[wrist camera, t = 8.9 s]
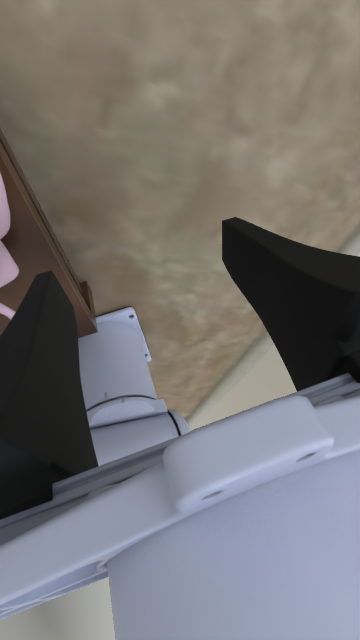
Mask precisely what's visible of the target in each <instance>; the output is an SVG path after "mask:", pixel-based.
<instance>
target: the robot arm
mask: <svg viewBox="0 0 360 640" xmlns="http://www.w3.org/2000/svg"><path fill="white" fill-rule="evenodd" d="M222 260H223V262H224V264H225V266H226V268H227V270H228V272H229V274H230V276H231V278H232V279H233V281H234V282H235V283H236V285H237V286H238V288H239V289H240V290H241V292H242V293H243V295H244V296H245V297H246V299H247V300H248V301H249V303H250V304H251V306H252V307H253V308H254V310H255V311H256V313H257V314H258V316H259V317H260V319H261V320H262V322H263V324H264V326H265V327H266V329H267V331H268V333H269V335H270V336H271V338H272V340H273V342H274V344H275V346H276V348H277V350H278V351H279V354H280V356H281V358H282V360H283V362H284V364H285V366H286V368H287V370H288V372H289V374H290V376H291V379H292V381H293V383H294V385H295V387H296V390H297V392H295V393H293V394H290V395H287V396H285V397H281V398H277V399H274V400H272V401H269V402H266V403H264V404H261V405H259V406H256V407H253V408H250V409H248V410H245V411H242V412H240V413H237V414H234V415H232V416H229V417H226V418H224V419H221V420H219V421H216V422H213V423H210V424H208V425H205V426H202V427H200V428H197V429H194V430H192V431H190V429H189V426H188V424H187V422H186V421H185V419H184V418H183V417H182V416H181V415H180V414H179V413H178V412H177V411H176V410H174V409H169V410H167V408H166V405H165V401H164V399H157V396H156V392H155V389H154V385H153V382H152V378H151V375H150V371H149V368H148V365H147V362H149V361H150V360H151V356H150V353H149V350H148V347H147V345H146V342H145V339H144V336H143V333H142V330H141V327H140V325H139V322H138V319H137V316H136V313H135V310H134V308H132V307H128V308H125V309H122V310H118V311H115V312H112V313H109V314H105V315H102V316H99V317H96V323H97V329H98V332H97V333H94V334H91V335H88V336H84V337H81V338H78V328H77V322H76V316H75V312H74V307H73V305H72V303H71V301H70V300H69V298H68V296H67V295H66V293H65V291H64V290H63V288H62V286H61V284H60V283H59V281H58V279H57V278H56V276H55V274H54V273H53V271H52V270H51V271H47V272H44V273H40V274H37V275H36V276H35V278H34V280H33V282H32V284H31V285H30V287H29V289H28V291H27V293H26V295H25V297H24V298H23V300H22V302H21V304H20V306H19V307H18V309H17V311H16V313H15V314H14V316H13V317H12V319H11V321H10V322H9V324H8V325H7V327H6V328H5V330H4V332H3V333H2V334H1V336H0V620H1V619H3V618H5V617H8V616H11V615H13V614H15V613H18V612H21V611H23V610H26V609H28V608H31V607H33V606H36V605H38V604H41V603H43V602H46V601H48V600H51V599H53V598H56V597H58V596H61V595H64V594H66V593H69V592H71V591H73V590H76V589H79V588H81V587H83V586H86V585H89V584H91V583H94V582H96V581H98V580H101V579H104V578H106V577H109V585H110V594H111V602H112V612H113V620H114V630H115V639H116V640H360V257H358V256H351V255H346V254H341V253H335V252H331V251H326V250H322V249H318V248H315V247H311V246H307V245H304V244H301V243H298V242H295V241H293V240H290V239H287V238H284V237H282V236H279V235H277V234H274V233H272V232H270V231H267V230H265V229H263V228H261V227H258V226H256V225H254V224H252V223H249V222H247V221H245V220H242V219H240V218H237V217H234V218H230V219H227V220H224V221H222ZM130 315H131V316H130Z"/></svg>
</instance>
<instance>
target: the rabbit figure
mask: <svg viewBox="0 0 360 640" xmlns="http://www.w3.org/2000/svg"><path fill="white" fill-rule="evenodd" d="M9 228H10V210H9V205H8V201H7V195H6V190H5V186H4V183H3V179H2V176H1V173H0V239H1V238H2V237H4V236H5V235H6V234H7V232H8V230H9ZM18 273H19V269H18V266H17V265H16V263H15V262H14V260H13V259H12V257H11V255H10V254H9V252H8V250H7V249H6V247H5V246H4V244H3V243H2V242H1V240H0V287H2V286H4V285H6V284H8V283H9V282H11V281H12V280H14V279H15V278H16V277H17V275H18ZM0 313H1V314H3V315H5V316H7V317H8V318H9V319H12V317H13V316H14V314H15V313H16V312H15V311H14V310H12V309H11V308H9V307H7V306H6V305H4V304H2V303H0Z"/></svg>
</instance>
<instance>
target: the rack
mask: <svg viewBox="0 0 360 640" xmlns="http://www.w3.org/2000/svg"><path fill="white" fill-rule="evenodd" d="M0 173H1V176H2V179H3V183H4V186H5V190H6V195H7V201H8V205H9V210H10V228H9V230H8V232H7V234H6V235H5V236H4V237H2V238H1V239H0V240H1V242H2V243H3V244H4V246H5V247H6V249H7V250H8V252H9V254H10V255H11V257H12V259H13V260H14V262H15V263H16V265H17V266H18V269H19V273H18V275H17V277H16V278H15V279H14V280H12V281H11V282H9V283H8V284H6V285H4V286H2V287H0V303H2V304H4V305H6V306H7V307H9V308H11V309H12V310H14V311H15V312H16V311H17V309H18V307H19V306H20V304H21V302H22V300H23V298H24V297H25V295H26V293H27V291H28V289H29V287H30V285H31V284H32V282H33V280H34V278H35V276H36V275H37V274H40V273H44V272H47V271H51V270H52V271H53V273H54V274H55V276H56V278H57V279H58V281H59V283H60V284H61V286H62V288H63V290H64V291H65V293H66V295H67V296H68V298H69V300H70V301H71V303H72V305H73V307H74V312H75V316H76V322H77V328H78V338H81V337H84V336H88V335H91V334H94V333H97V332H98V329H97V323H96V316H95V310H94V304H93V298H92V292H91V289H90V287H89V285H88V283H87V282H83V283H80V282H79V280H78V278H77V277H76V275H75V273H74V271H73V269H72V267H71V265H70V263H69V261H68V259H67V257H66V255H65V253H64V251H63V249H62V247H61V245H60V243H59V242H58V240H57V238H56V236H55V234H54V232H53V230H52V228H51V226H50V224H49V222H48V220H47V218H46V216H45V214H44V212H43V210H42V208H41V207H40V205H39V203H38V201H37V199H36V197H35V195H34V193H33V191H32V189H31V187H30V185H29V183H28V181H27V179H26V177H25V175H24V173H23V171H22V170H21V168H20V166H19V164H18V162H17V160H16V158H15V156H14V154H13V152H12V150H11V148H10V146H9V144H8V142H7V140H6V138H5V136H4V135H3V133H2V131H1V129H0ZM10 321H11V319H9V318H8V317H7V316H5V315H3V314H1V313H0V336H1V334H2V333H3V332H4V330H5V328H6V327H7V325H8V324H9V322H10Z"/></svg>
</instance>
